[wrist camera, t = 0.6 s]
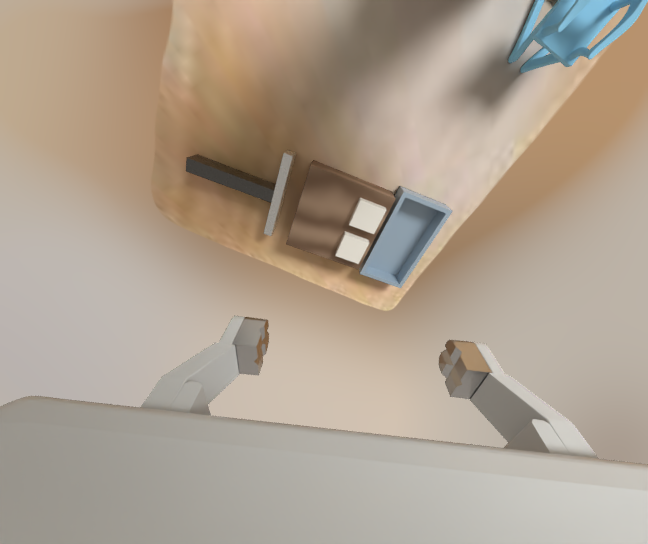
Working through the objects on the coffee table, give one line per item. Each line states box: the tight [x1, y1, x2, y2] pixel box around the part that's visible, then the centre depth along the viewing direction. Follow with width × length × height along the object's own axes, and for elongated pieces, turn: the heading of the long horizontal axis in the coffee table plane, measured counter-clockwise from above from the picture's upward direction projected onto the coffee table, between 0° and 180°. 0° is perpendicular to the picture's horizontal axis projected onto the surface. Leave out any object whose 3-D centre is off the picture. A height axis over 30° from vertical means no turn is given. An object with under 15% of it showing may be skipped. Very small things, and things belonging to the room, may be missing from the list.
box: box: [359, 186, 452, 288], centre depth 52 cm, size 19×10×4 cm, turn 160°
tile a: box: [349, 198, 386, 234], centre depth 46 cm, size 5×5×2 cm
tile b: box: [335, 231, 369, 264], centre depth 49 cm, size 5×5×2 cm
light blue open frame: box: [508, 0, 648, 73], centre depth 31 cm, size 8×8×12 cm
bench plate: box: [286, 160, 395, 269], centre depth 50 cm, size 16×16×5 cm
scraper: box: [186, 150, 296, 236], centre depth 47 cm, size 18×16×4 cm
